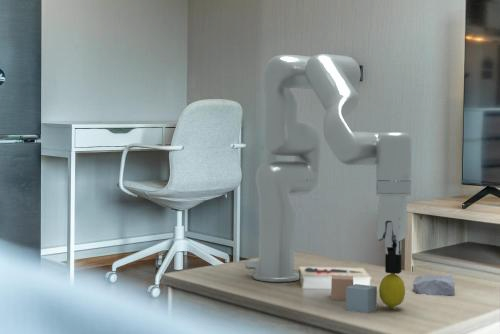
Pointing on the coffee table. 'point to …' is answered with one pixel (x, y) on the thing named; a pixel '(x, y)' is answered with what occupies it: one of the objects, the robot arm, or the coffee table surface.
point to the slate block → (361, 298)
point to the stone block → (434, 285)
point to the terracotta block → (340, 286)
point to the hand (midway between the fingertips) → (393, 272)
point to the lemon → (392, 290)
